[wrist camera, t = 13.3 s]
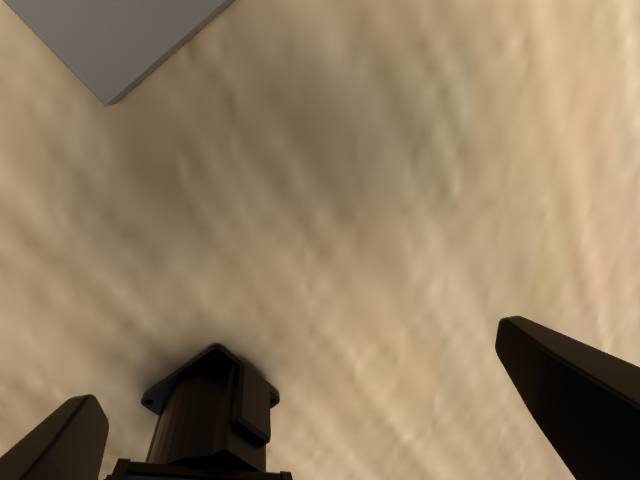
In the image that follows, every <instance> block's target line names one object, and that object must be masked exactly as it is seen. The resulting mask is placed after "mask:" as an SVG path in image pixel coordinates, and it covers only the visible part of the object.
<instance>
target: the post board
mask: <svg viewBox="0 0 640 480" xmlns="http://www.w3.org/2000/svg"><path fill="white" fill-rule="evenodd" d="M3 1H4V2H5V3H6V4H7V5H8V6H9V7H10V8H11V9H12V10H13V11H14V12H15V13H16V14H17V15H18V16H19V18H20V19H21V20H22V21H23V22H24V23H25V24H26V25H27V26H28V27H29V28H30V29H31V30H32V31H33V32H34V33H35V34H36V35H37V36H38V37H39V38H40V39H41V40H42V41H43V42H44V43H45V44H46V45H47V46H48V47H49V48H50V50H51V51H52V52H53V53H54V54H55V55H56V56H57V57H58V58H59V59H60V60H61V61H62V62H63V63H64V64H65V65H66V66H67V67H68V68H69V69H70V70H71V71H72V72H73V73H74V74H75V75H76V76H77V77H78V78H79V79H80V80H81V82H82V83H83V84H84V85H85V86H86V87H87V88H88V89H89V90H90V91H91V92H92V93H93V94H94V95H95V96H96V97H97V98H98V99H99V100H100V101H101V102H102V103H103V104H104V105H105V106H106V105H111V104H116V103H117V102H118V101H119V100H120V99H122V98H123V97H124V96H125V95H126V94H127V93H128V92H130V91H131V90H132V89H133V88H134V87H135V86H137V85H138V84H139V83H140V82H141V81H142V80H143V79H145V78H146V77H147V76H148V75H149V74H150V73H151V72H153V71H154V70H155V69H156V68H157V67H158V66H160V65H161V64H162V63H163V62H164V61H165V60H166V59H168V58H169V57H170V56H171V55H172V54H173V53H175V52H176V51H177V50H178V49H179V48H180V47H181V46H183V45H184V44H185V43H186V42H187V41H188V40H190V39H191V38H192V37H193V36H194V35H195V34H196V33H198V32H199V31H200V30H201V29H202V28H203V27H204V26H206V25H207V24H208V23H209V22H210V21H211V20H213V19H214V18H215V17H216V16H217V15H218V14H219V13H221V12H222V11H223V10H224V9H225V8H226V7H228V6H229V5H230V4H231V3H232V2H233V1H234V0H3Z"/></svg>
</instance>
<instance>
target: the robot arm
mask: <svg viewBox="0 0 640 480" xmlns="http://www.w3.org/2000/svg"><path fill="white" fill-rule="evenodd" d="M495 349H496V353H497V355H498V357H499V359H500V361H501V363H502V364H503V366H504V368H505V370H506V371H507V373H508V375H509V377H510V378H511V380H512V382H513V384H514V386H515V387H516V389H517V391H518V393H519V394H520V396H521V398H522V400H523V401H524V403H525V405H526V407H527V408H528V410H529V412H530V413H531V415H532V417H533V418H534V420H535V421H536V423H537V424H538V426H539V427H540V429H541V430H542V432H543V433H544V434H545V436H546V437H547V439H548V440H549V442H550V443H551V444H552V446H553V447H554V449H555V450H556V452H557V453H558V455H559V456H560V457H561V459H562V460H563V462H564V463H565V465H566V466H567V467H568V469H569V470H570V472H571V473H572V475H573V476H574V478H575V479H576V480H640V367H638V366H635V365H633V364H631V363H629V362H626V361H624V360H622V359H619V358H617V357H615V356H612V355H610V354H608V353H605V352H603V351H601V350H598V349H596V348H594V347H591V346H589V345H587V344H584V343H582V342H580V341H577V340H575V339H573V338H570V337H568V336H566V335H563V334H561V333H559V332H556V331H554V330H552V329H549V328H547V327H545V326H542V325H540V324H538V323H535V322H533V321H531V320H528V319H526V318H524V317H521V316H511V317H506V318H502V319H501V320H500V321H499V324H498V330H497V336H496V343H495ZM215 352H217V353H219V354H214V353H215ZM271 398H273V399H271ZM150 399H152V400H150ZM279 401H280V396H279V393H278V392H277V391H276V390H275V389H273V388H272V387H271V386H270V385H269V383H268V382H267V381H265V380H264V379H263V378H262V377H261V376H259V375H258V374H257V373H256V372H254V371H253V370H252V369H251V368H250V367H248V366H247V365H246V364H244V363H242V362H241V361H239V360H238V359H237V358H236V357H235V356H233V355H232V354H231V353H230V352H228V351H227V350H226V349H225V348H224V347H222V346H220V345H213V346H211V347H209V348H208V349H207V350H205V351H204V352H202V353H201V354H199V355H198V356H197V357H195V358H194V359H192V360H191V361H189V362H188V363H187V364H185V365H184V366H182V367H181V368H180V369H178V370H177V371H175V372H174V373H172V374H171V375H170V376H168V377H167V378H165V379H164V380H163V381H161V382H160V383H158V384H157V385H155V386H154V387H153V388H151V389H150V390H148V391H147V392H145V393H144V394H143V397H142V400H141V404H142V405H143V406H145V407H146V408H148V409H149V410H151V411H152V412H154V413H156V414H157V415H159V417H158V421H157V424H156V427H155V431H154V434H153V438H152V441H151V444H150V448H149V451H148V454H147V458H146V461H145V463H144V462H131V461H130V459H121V458H119V459H118V461H117V463H116V466H115V468H114V470H113V473H112V475H107V477H106V479H104V480H293V479H292V475H291V472H285V471H280V473H273V472H266V444H267V443H269V442H270V438H271V427H270V409H271V408H272V407H274V406H275V405H277V404H278V403H279ZM108 431H109V423H108V419H107V417H106V415H105V413H104V411H103V410H102V408H101V406H100V404H99V402H98V400H97V398H96V397H95V396H94V395H92V394H87V395H82V396H77V397H72V398H70V399H68V400H67V401H66V402H64V403H63V404H62V405H61V406H60V407H59V408H57V409H56V410H55V411H54V412H53V413H52V414H51V415H49V416H48V417H47V418H46V419H45V420H44V421H42V422H41V423H40V424H39V425H38V426H37V427H35V428H34V429H33V430H32V431H31V432H30V433H28V434H27V435H26V436H25V437H24V438H23V439H21V440H20V441H19V442H18V443H17V444H16V445H14V446H13V447H12V448H11V449H10V450H9V451H8V452H6V453H5V454H4V455H3V456H2V457H1V458H0V480H98V476H99V472H100V467H101V463H102V458H103V454H104V449H105V445H106V441H107V436H108Z"/></svg>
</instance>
